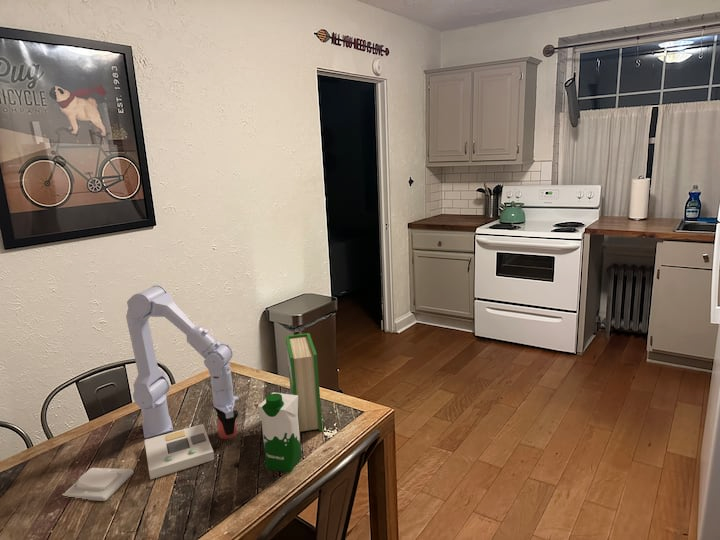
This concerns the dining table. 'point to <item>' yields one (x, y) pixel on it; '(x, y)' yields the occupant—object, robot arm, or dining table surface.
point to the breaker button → (177, 446)
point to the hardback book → (304, 380)
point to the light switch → (98, 483)
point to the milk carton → (280, 431)
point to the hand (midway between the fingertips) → (227, 429)
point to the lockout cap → (222, 432)
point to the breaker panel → (182, 459)
